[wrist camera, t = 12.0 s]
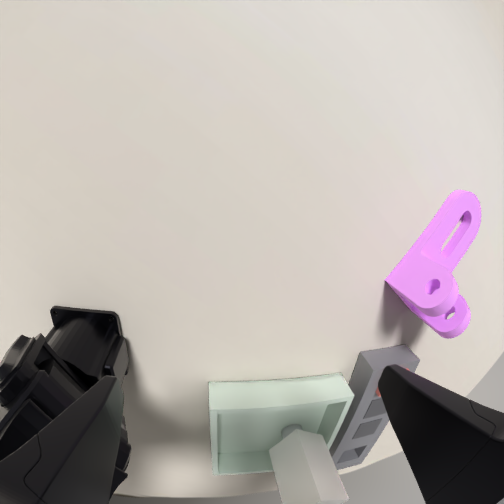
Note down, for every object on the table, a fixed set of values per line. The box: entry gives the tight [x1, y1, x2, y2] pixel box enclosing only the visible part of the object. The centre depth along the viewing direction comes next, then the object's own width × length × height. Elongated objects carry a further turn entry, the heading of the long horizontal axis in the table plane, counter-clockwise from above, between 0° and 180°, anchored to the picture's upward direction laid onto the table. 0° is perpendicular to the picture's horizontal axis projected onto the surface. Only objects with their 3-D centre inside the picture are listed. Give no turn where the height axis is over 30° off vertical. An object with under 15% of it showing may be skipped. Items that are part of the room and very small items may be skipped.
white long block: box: [269, 424, 349, 504], centre depth 22 cm, size 4×4×11 cm
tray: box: [208, 373, 354, 475], centre depth 25 cm, size 13×13×4 cm
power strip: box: [329, 344, 420, 470], centre depth 27 cm, size 20×6×4 cm, turn 176°
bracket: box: [385, 190, 481, 338], centre depth 20 cm, size 13×6×7 cm, turn 138°
